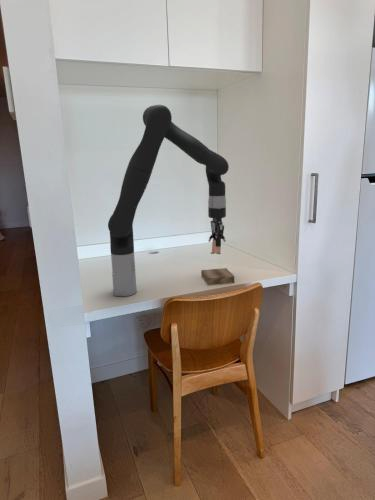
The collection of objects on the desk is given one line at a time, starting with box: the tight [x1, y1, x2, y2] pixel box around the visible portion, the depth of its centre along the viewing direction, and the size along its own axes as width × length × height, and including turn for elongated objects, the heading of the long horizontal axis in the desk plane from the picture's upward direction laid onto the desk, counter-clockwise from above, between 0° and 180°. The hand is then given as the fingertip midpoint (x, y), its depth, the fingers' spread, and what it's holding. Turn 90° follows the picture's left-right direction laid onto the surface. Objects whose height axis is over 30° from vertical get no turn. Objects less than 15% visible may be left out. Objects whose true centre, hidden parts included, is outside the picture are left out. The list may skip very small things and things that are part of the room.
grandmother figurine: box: [208, 227, 227, 255], centre depth 150 cm, size 8×4×13 cm, turn 86°
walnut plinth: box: [200, 267, 235, 286], centre depth 155 cm, size 12×12×3 cm
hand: (217, 245), depth 151 cm, fingers closed on grandmother figurine, 3 cm apart
